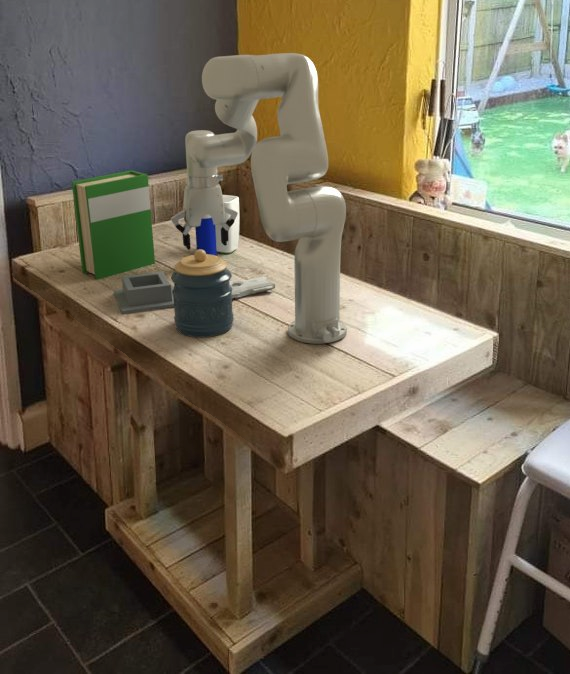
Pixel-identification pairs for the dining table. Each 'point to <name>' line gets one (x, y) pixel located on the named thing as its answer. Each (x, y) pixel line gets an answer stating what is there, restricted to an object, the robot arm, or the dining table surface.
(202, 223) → the beverage can
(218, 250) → the cup
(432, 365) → the dining table surface
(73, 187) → the hardback book
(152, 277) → the holder
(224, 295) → the canister
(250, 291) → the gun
